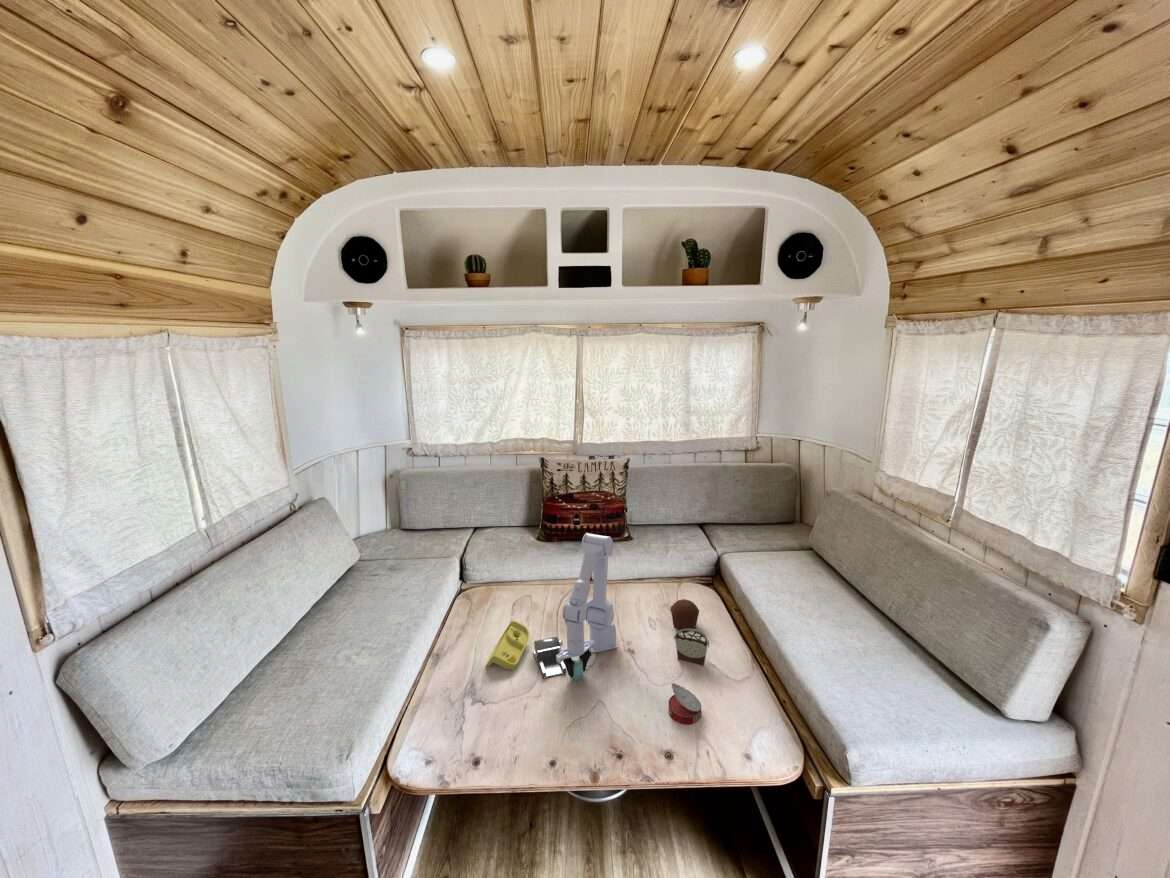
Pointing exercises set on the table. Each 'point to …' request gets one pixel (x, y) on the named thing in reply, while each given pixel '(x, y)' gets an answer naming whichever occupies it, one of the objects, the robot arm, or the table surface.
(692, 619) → the muffin
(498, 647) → the plastic component
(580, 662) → the teal rounded cylinder
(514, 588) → the table surface
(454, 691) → the table surface
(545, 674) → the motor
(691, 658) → the food container
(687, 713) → the canned food
